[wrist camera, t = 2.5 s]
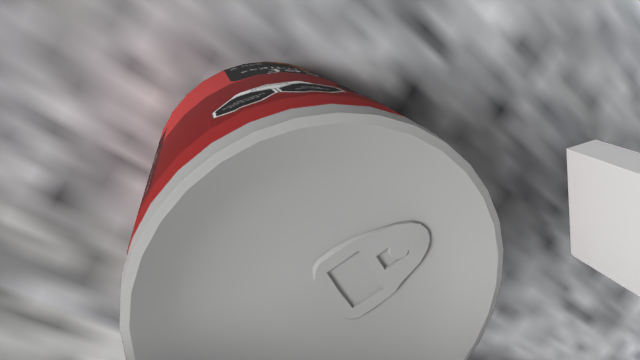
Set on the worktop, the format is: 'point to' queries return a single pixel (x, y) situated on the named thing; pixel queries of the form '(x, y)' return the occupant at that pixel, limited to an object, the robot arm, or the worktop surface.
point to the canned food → (306, 230)
